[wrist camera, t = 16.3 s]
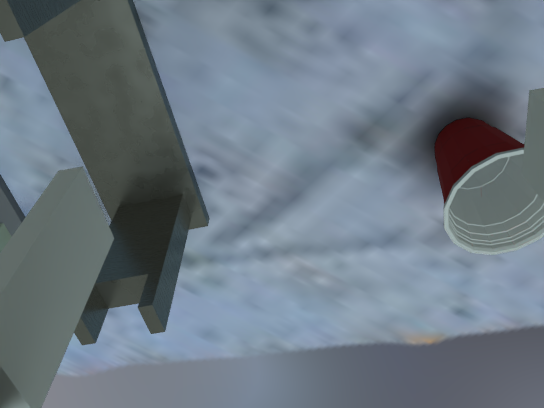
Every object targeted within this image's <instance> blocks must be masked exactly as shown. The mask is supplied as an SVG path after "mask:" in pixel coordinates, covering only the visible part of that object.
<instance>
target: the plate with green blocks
mask: <svg viewBox="0 0 544 408" xmlns="http://www.w3.org/2000/svg"><path fill="white" fill-rule="evenodd" d="M24 219H25V216H24V214H23V213H22V211H21V209H20V208H19V206H18V204H17V202H16V201H15V199H14V197H13V196H12V194H11V192H10V190H9V189H8V187H7V185H6V184H5V182H4V180H3V179H2V177H1V175H0V253H1V251H2V250H3V248H4V247H5V246H6V244H7V243H8V241H9V240H10V239H11V237H12V236H13V234H14V233H15V231H16V230H17V229H18V227H19V226H20V224H21V223H22V222H23V220H24Z"/></svg>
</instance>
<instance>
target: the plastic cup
mask: <svg viewBox="0 0 544 408" xmlns="http://www.w3.org/2000/svg"><path fill="white" fill-rule="evenodd" d="M524 145H525V144H522V143H520V142H519V141H517V140H515V139H514V138H512V137H510V136H509V135H507V134H505V133H504V132H502V131H500V130H499V129H497V128H495V127H492V126H490V125H488V124H487V123H485V122H484V121H482V120H478V119H472V118H464V119H459V120H456V121H454V122H452V123H450V124H449V125H447V126H446V127H445V128H444V129H443V130H442V131H441V132H440V133H439V135H438V137H437V140H436V143H435V159H436V163H437V171H438V176H439V180H440V185H441V189H442V193H443V198H444V229H445V230H446V232H447V233H448V235H449V237H450V238H451V240H452V241H453V243H454V244H456V245H458V246H459V247H461V248H463V249H465V250H467V251H469V252H471V253H479V254H489V255H495V254H500V253H505V252H510V251H515V250H518V249H520V248H522V247H524V246H526V245H528V244H531V243H533V242H535V241H537V240H539V239H540V238H542V237H543V236H544V202H543V201H542V199H541V198H540V197H539V196H538V194H537V193H536V192H535V191H534V190H533V188H532V187H531V186H530V185H529V184H528V182H527V181H526V180H525V179H524V177H523V176H522V167H523V156H524Z"/></svg>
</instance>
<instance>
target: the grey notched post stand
mask: <svg viewBox="0 0 544 408" xmlns="http://www.w3.org/2000/svg"><path fill="white" fill-rule="evenodd" d="M0 33H1V35H2V37H3V39H4V41H5V42H6V41H10V40H14V39H18V38H22V37H24V38H25V40H26V43H27V45H28V47H29V49H30V51H31V53H32V55H33V57H34V59H35V61H36V63H37V66H38V68H39V70H40V72H41V74H42V76H43V78H44V80H45V82H46V84H47V87H48V89H49V91H50V93H51V95H52V97H53V99H54V101H55V103H56V105H57V107H58V110H59V112H60V114H61V116H62V118H63V120H64V122H65V124H66V126H67V128H68V130H69V133H70V135H71V137H72V139H73V141H74V143H75V145H76V147H77V149H78V151H79V153H80V156H81V158H82V160H83V162H84V164H85V166H86V168H87V170H88V172H89V174H90V176H91V179H92V181H93V183H94V185H95V187H96V189H97V191H98V193H99V195H100V197H101V200H102V202H103V204H104V206H105V208H106V210H107V212H108V214H109V216H110V218H111V220H112V222H111V224H110V226H109V228H110V230H111V232H112V234H113V237H114V240H113V242H112V245H111V247H110V249H109V252H108V254H107V256H106V259H105V261H104V263H103V266H102V268H101V270H100V273H99V275H98V277H97V280H96V282H95V284H94V287H93V289H92V291H91V294H90V296H89V298H88V301H87V303H86V305H85V308H84V310H83V312H82V314H81V317H80V319H79V321H78V324H77V326H76V328H75V331H74V333H75V335H76V336H77V338H78V339H79V341H80V343H81V344H82V345H87V344H93V343H96V341H97V338H98V335H99V333H100V330H101V327H102V325H103V322H104V319H105V317H106V314H107V311H108V309H109V308H114V307H120V306H126V305H132V304H137V303H139V305H138V309H139V311H140V313H141V315H142V317H143V319H144V321H145V323H146V325H147V327H148V329H149V331H150V333H151V334H154V333H160V332H165V330H166V325H167V321H168V317H169V312H170V308H171V304H172V299H173V295H174V291H175V286H176V282H177V278H178V273H179V269H180V265H181V261H182V256H183V252H184V248H185V243H186V239H187V235H188V230H189V229H194V228H200V227H205V226H208V223H209V216H208V213H207V210H206V207H205V205H204V202H203V199H202V196H201V193H200V190H199V187H198V185H197V182H196V179H195V176H194V173H193V170H192V168H191V165H190V162H189V159H188V156H187V153H186V150H185V148H184V145H183V142H182V139H181V136H180V133H179V130H178V128H177V125H176V122H175V119H174V116H173V113H172V111H171V108H170V105H169V102H168V99H167V96H166V93H165V91H164V88H163V85H162V82H161V79H160V76H159V74H158V71H157V68H156V65H155V62H154V59H153V56H152V54H151V51H150V48H149V45H148V42H147V39H146V37H145V34H144V31H143V28H142V25H141V22H140V19H139V17H138V14H137V11H136V8H135V5H134V2H133V0H0Z"/></svg>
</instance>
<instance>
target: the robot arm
mask: <svg viewBox="0 0 544 408" xmlns="http://www.w3.org/2000/svg"><path fill="white" fill-rule="evenodd" d="M522 176H523V177H524V179H525V180H526V181H527V182H528V184H529V185H530V186H531V187H532V188H533V190H534V191H535V192H536V193H537V194H538V196H539V197H540V198H541V199H542V201H543V202H544V88H541V89H535V90H530V91H529V102H528V113H527V124H526V134H525V145H524V156H523V167H522ZM113 240H114V237H113V234H112V232H111V230H110V228H109V225H108V223H107V221H106V219H105V216H104V214H103V212H102V210H101V207H100V205H99V203H98V201H97V198H96V196H95V194H94V192H93V189H92V187H91V185H90V182H89V180H88V178H87V176H86V173H85V171H84V169H83V167H78V168H72V169H66V170H60V171H58V173H57V174H56V175H55V177H54V178H53V180H52V181H51V182H50V184H49V185H48V187H47V188H46V189H45V191H44V192H43V194H42V195H41V196H40V198H39V199H38V201H37V202H36V203H35V205H34V206H33V208H32V209H31V210H30V212H29V213H28V215H27V216H26V217H25V219H24V220H23V222H22V223H21V224H20V226H19V227H18V229H17V230H16V231H15V233H14V234H13V236H12V237H11V239H10V240H9V241H8V243H7V244H6V246H5V247H4V248H3V250H2V251H1V253H0V408H41V407H42V405H43V403H44V401H45V398H46V396H47V393H48V391H49V389H50V386H51V384H52V382H53V380H54V377H55V375H56V373H57V370H58V368H59V366H60V363H61V361H62V359H63V356H64V354H65V352H66V349H67V347H68V345H69V342H70V340H71V338H72V335H73V333H74V331H75V328H76V326H77V324H78V321H79V319H80V317H81V314H82V312H83V310H84V308H85V305H86V303H87V301H88V298H89V296H90V294H91V291H92V289H93V287H94V284H95V282H96V280H97V277H98V275H99V273H100V270H101V268H102V266H103V263H104V261H105V259H106V256H107V254H108V252H109V249H110V247H111V245H112V242H113Z"/></svg>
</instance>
